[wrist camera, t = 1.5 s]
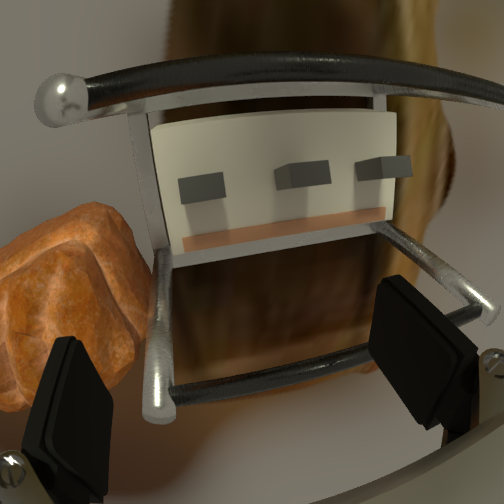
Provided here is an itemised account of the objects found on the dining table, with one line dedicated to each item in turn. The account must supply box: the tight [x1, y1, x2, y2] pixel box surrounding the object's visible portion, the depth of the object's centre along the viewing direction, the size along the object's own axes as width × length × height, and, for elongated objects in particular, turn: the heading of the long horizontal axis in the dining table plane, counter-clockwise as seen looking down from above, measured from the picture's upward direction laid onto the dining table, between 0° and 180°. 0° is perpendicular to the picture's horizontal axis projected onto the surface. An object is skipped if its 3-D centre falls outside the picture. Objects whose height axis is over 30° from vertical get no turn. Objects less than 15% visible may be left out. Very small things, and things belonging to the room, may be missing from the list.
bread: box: [0, 202, 152, 413], centre depth 23 cm, size 14×26×16 cm, turn 107°
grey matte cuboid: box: [355, 156, 413, 181], centre depth 23 cm, size 2×3×4 cm, turn 96°
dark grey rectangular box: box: [274, 160, 332, 191], centre depth 22 cm, size 2×3×4 cm, turn 96°
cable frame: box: [34, 51, 504, 424], centre depth 21 cm, size 17×25×19 cm
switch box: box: [151, 108, 396, 256], centre depth 27 cm, size 10×20×6 cm, turn 95°
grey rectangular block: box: [178, 172, 226, 205], centre depth 21 cm, size 2×3×4 cm, turn 95°
